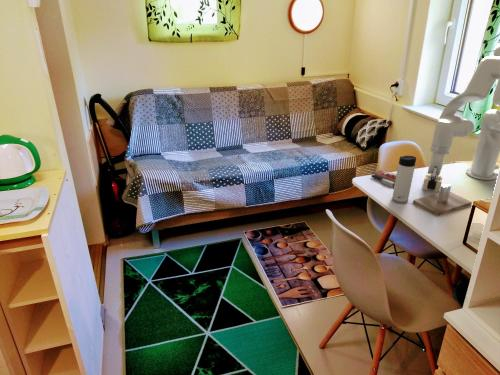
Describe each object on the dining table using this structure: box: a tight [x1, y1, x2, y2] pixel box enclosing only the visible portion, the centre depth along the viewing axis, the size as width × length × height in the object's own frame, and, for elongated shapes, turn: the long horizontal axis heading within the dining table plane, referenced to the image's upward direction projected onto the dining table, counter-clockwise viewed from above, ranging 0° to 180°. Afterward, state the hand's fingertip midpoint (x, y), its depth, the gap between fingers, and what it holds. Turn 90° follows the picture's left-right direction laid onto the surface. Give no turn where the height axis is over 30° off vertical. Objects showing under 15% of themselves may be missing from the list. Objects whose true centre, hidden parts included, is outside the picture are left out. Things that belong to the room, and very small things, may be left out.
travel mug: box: [391, 155, 417, 205], centre depth 156 cm, size 6×7×20 cm
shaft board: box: [412, 183, 473, 217], centre depth 156 cm, size 20×12×8 cm, turn 116°
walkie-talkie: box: [371, 169, 397, 188], centre depth 175 cm, size 9×4×20 cm
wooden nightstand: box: [421, 172, 444, 193], centre depth 171 cm, size 7×7×5 cm
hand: (431, 185), depth 171 cm, fingers closed on wooden nightstand, 7 cm apart
